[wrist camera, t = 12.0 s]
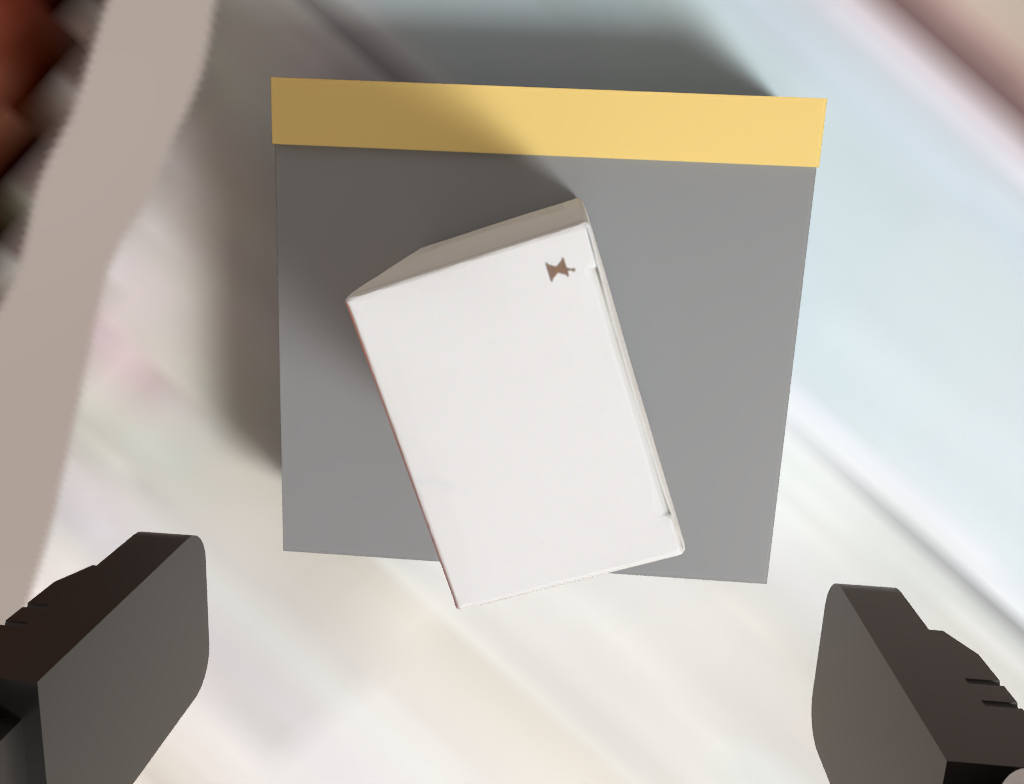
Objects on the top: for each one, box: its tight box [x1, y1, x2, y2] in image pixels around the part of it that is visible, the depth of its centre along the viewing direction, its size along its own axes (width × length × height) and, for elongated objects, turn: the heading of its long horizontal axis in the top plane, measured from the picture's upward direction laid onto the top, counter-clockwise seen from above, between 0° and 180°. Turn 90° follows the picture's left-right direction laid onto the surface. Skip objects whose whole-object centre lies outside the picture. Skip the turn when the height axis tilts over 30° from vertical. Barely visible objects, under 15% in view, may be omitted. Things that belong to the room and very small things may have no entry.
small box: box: [345, 198, 685, 609], centre depth 25 cm, size 8×6×10 cm
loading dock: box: [271, 77, 827, 584], centre depth 32 cm, size 17×16×5 cm
